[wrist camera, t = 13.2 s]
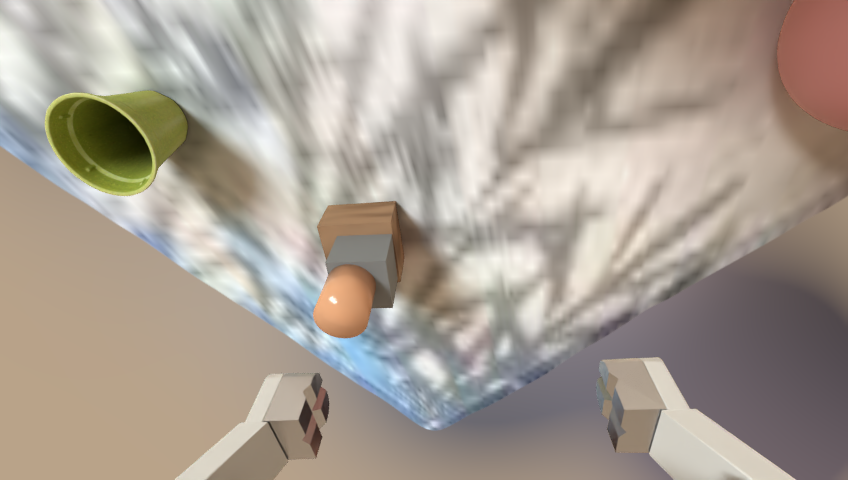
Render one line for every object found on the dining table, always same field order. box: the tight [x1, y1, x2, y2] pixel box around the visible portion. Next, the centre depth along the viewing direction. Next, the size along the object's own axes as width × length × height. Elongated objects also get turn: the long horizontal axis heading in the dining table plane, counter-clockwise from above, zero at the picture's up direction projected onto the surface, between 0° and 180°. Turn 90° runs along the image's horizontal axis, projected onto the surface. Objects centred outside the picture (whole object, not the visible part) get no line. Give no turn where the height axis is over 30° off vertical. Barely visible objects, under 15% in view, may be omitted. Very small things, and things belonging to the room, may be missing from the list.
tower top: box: [325, 234, 398, 308], centre depth 44 cm, size 6×6×5 cm
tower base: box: [317, 201, 404, 282], centre depth 48 cm, size 8×8×5 cm
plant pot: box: [45, 91, 188, 196], centre depth 40 cm, size 9×9×9 cm
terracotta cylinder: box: [313, 264, 376, 338], centre depth 40 cm, size 5×5×5 cm
